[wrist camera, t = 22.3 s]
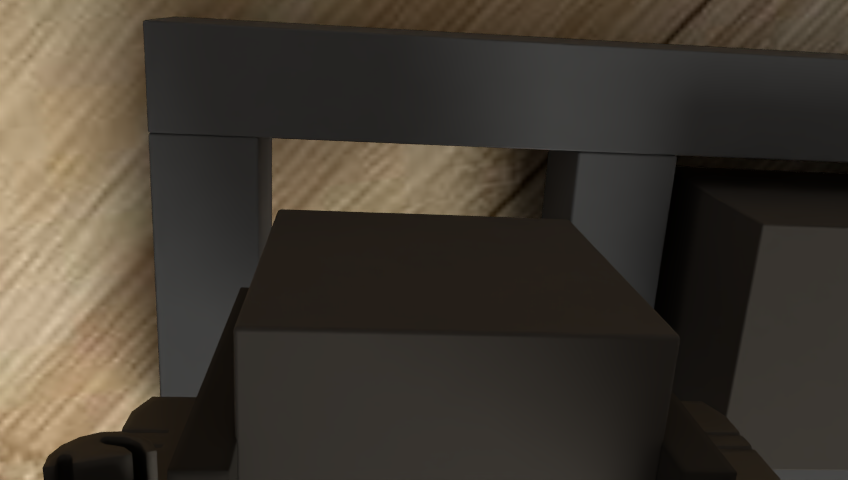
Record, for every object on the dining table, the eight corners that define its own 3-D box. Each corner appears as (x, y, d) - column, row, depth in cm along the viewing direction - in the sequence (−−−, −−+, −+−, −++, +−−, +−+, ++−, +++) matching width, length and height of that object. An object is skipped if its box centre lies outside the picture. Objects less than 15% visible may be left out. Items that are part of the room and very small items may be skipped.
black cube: (569, 218, 16) (682, 336, 11) (540, 469, 18) (625, 686, 12) (277, 208, 16) (232, 327, 10) (276, 468, 18) (237, 695, 12)
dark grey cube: (860, 173, 23) (1025, 233, 17) (817, 361, 25) (955, 472, 19) (660, 165, 22) (763, 223, 17) (631, 357, 24) (715, 470, 18)
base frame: (172, 16, 20) (142, 20, 17) (996, 62, 22) (1090, 72, 19) (188, 447, 24) (164, 509, 21) (893, 453, 26) (959, 510, 23)
